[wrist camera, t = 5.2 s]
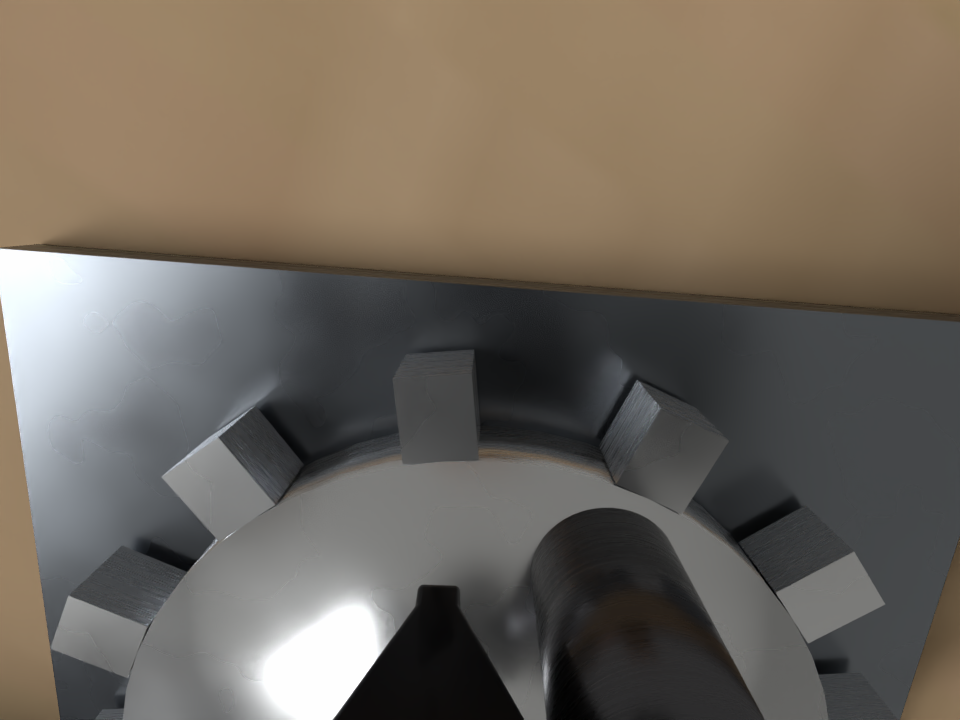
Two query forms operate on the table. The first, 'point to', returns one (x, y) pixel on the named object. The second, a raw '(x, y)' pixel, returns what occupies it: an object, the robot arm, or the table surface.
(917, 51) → the table surface
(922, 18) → the table surface
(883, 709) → the sprocket wheel
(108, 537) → the base plate
